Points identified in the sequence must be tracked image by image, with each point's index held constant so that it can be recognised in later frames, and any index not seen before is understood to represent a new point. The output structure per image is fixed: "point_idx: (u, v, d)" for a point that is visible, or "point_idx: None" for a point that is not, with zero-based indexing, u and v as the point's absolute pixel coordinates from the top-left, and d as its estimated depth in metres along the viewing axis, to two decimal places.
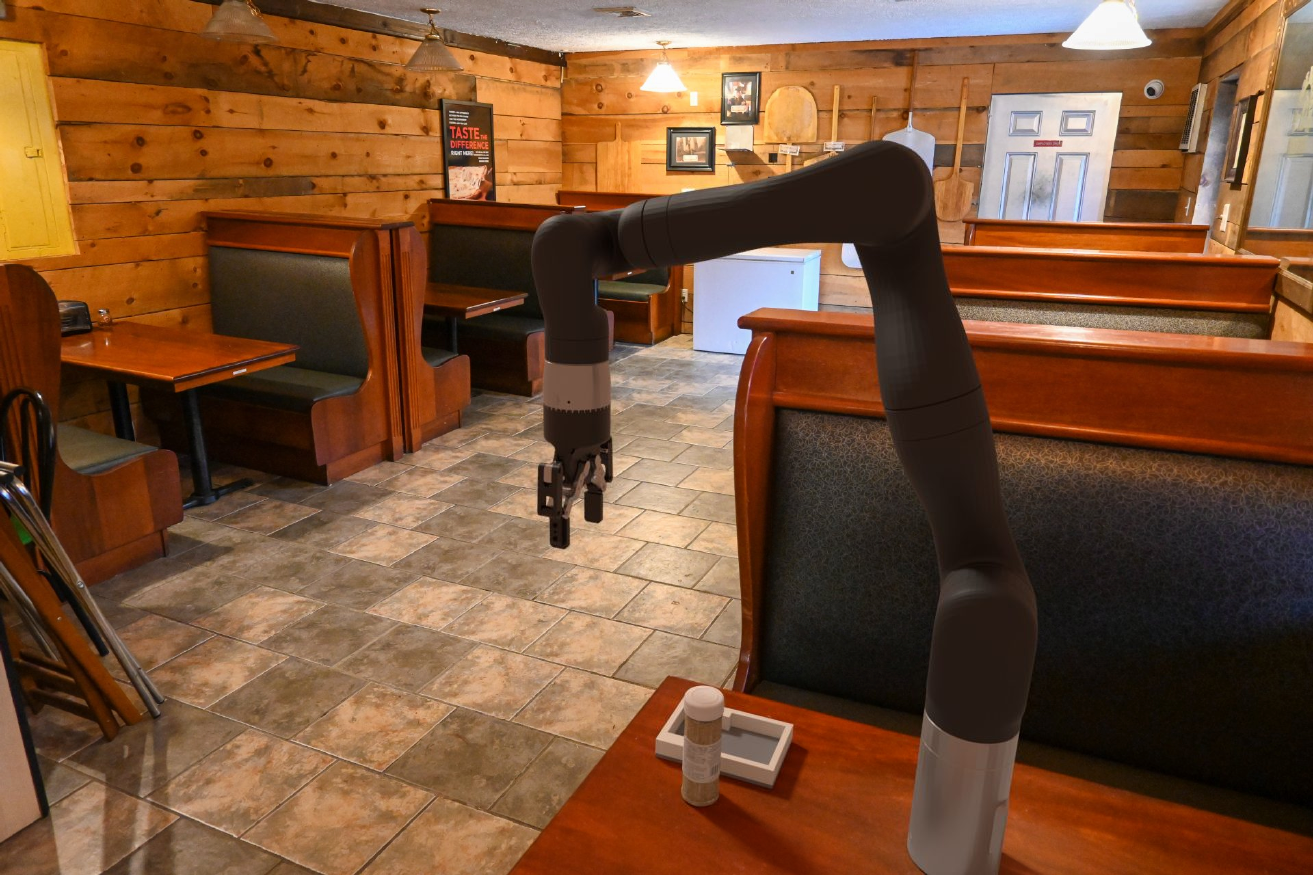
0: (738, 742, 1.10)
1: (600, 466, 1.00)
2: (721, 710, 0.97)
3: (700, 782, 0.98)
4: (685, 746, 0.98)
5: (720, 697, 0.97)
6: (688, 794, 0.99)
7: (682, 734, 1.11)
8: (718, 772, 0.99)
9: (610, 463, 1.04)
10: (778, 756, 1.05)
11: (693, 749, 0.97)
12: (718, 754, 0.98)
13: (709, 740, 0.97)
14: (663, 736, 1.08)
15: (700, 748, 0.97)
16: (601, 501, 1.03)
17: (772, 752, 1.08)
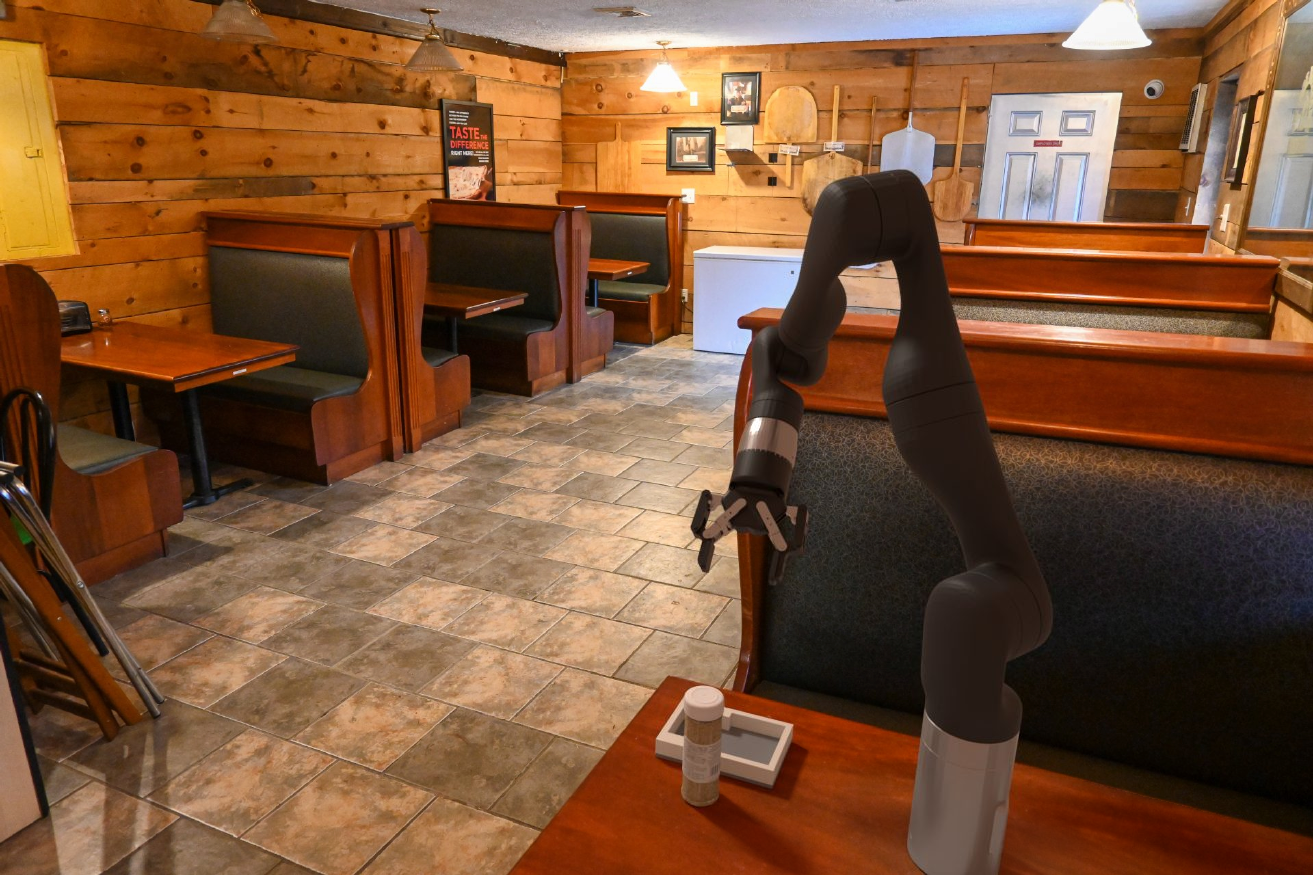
0: (738, 742, 1.10)
1: (769, 517, 1.07)
2: (721, 710, 0.97)
3: (700, 782, 0.98)
4: (685, 746, 0.98)
5: (720, 697, 0.97)
6: (688, 794, 0.99)
7: (682, 734, 1.11)
8: (718, 772, 0.99)
9: (800, 529, 1.05)
10: (778, 756, 1.05)
11: (693, 749, 0.97)
12: (718, 754, 0.98)
13: (709, 740, 0.97)
14: (663, 736, 1.08)
15: (700, 748, 0.97)
16: (774, 558, 1.05)
17: (772, 752, 1.08)
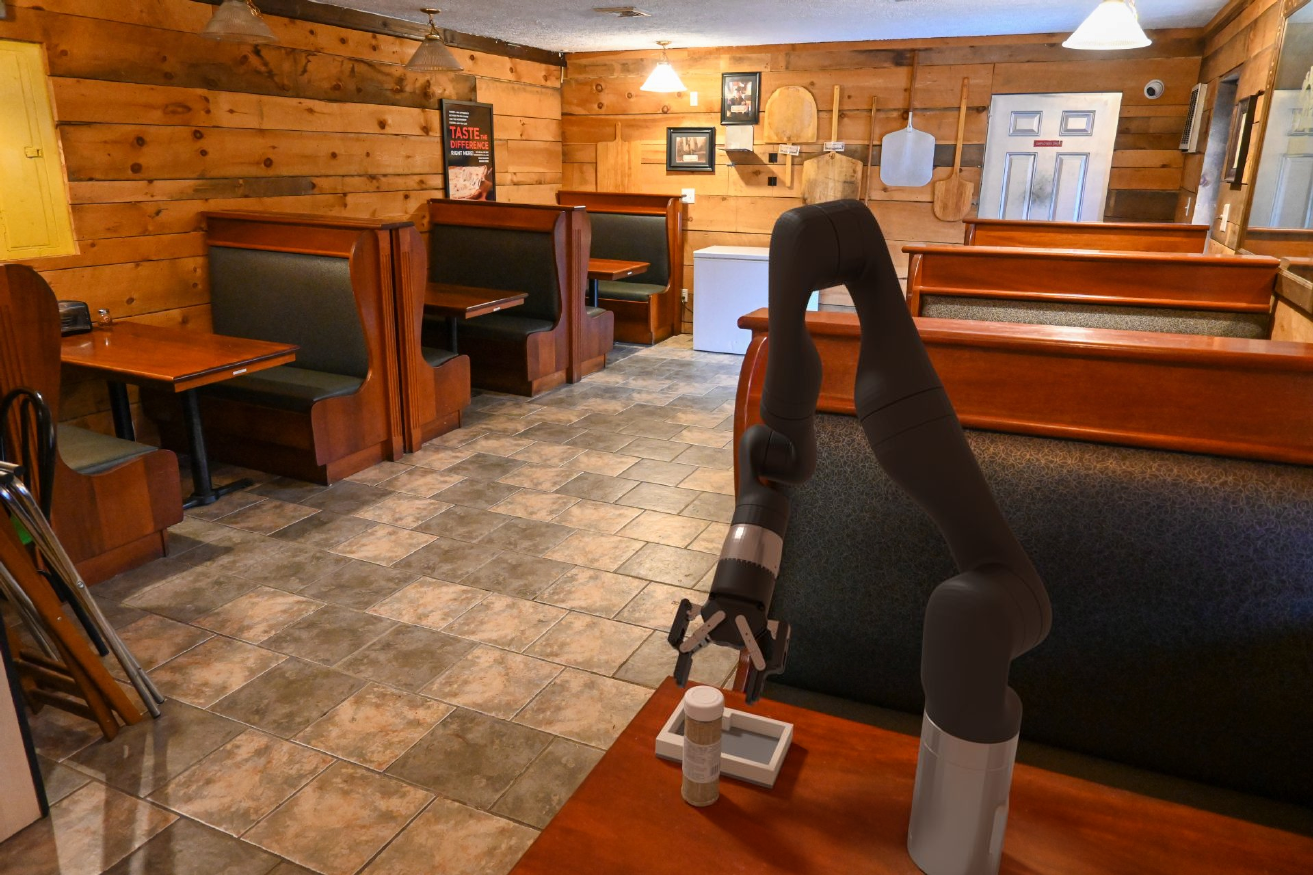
0: (738, 742, 1.10)
1: (748, 632, 1.02)
2: (721, 710, 0.97)
3: (700, 782, 0.98)
4: (685, 746, 0.98)
5: (720, 697, 0.97)
6: (688, 794, 0.99)
7: (682, 734, 1.11)
8: (718, 772, 0.99)
9: (779, 647, 1.01)
10: (778, 756, 1.05)
11: (693, 749, 0.97)
12: (718, 754, 0.98)
13: (709, 740, 0.97)
14: (663, 736, 1.08)
15: (700, 748, 0.97)
16: (752, 677, 1.00)
17: (772, 752, 1.08)
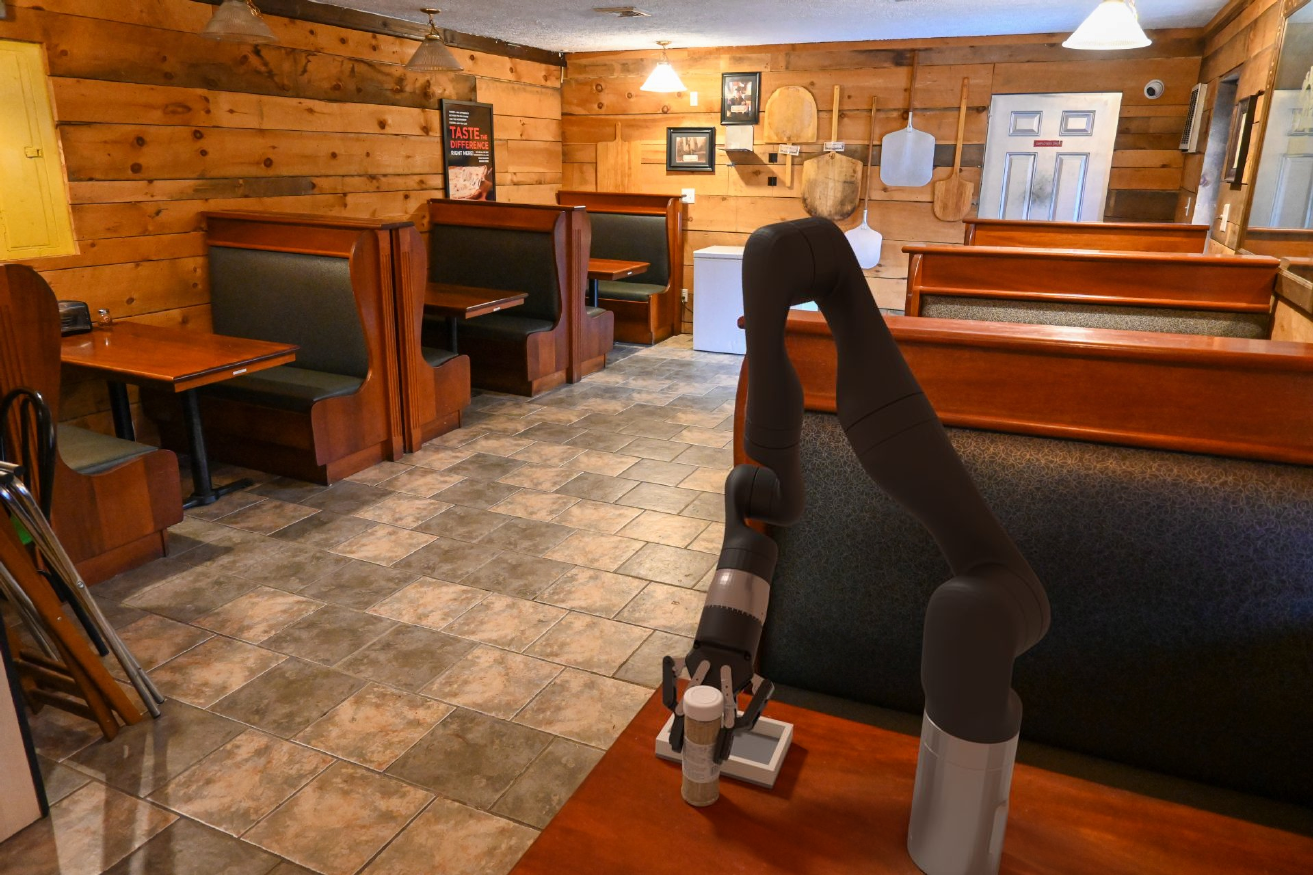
0: (738, 742, 1.10)
1: (729, 685, 0.99)
2: (720, 710, 0.97)
3: (699, 782, 0.98)
4: (685, 746, 0.98)
5: (719, 697, 0.97)
6: (688, 794, 0.99)
7: None
8: (718, 772, 0.99)
9: (754, 706, 0.98)
10: (778, 756, 1.05)
11: (692, 749, 0.97)
12: None
13: (709, 740, 0.97)
14: (663, 736, 1.08)
15: (700, 748, 0.97)
16: (720, 735, 0.97)
17: (772, 752, 1.08)
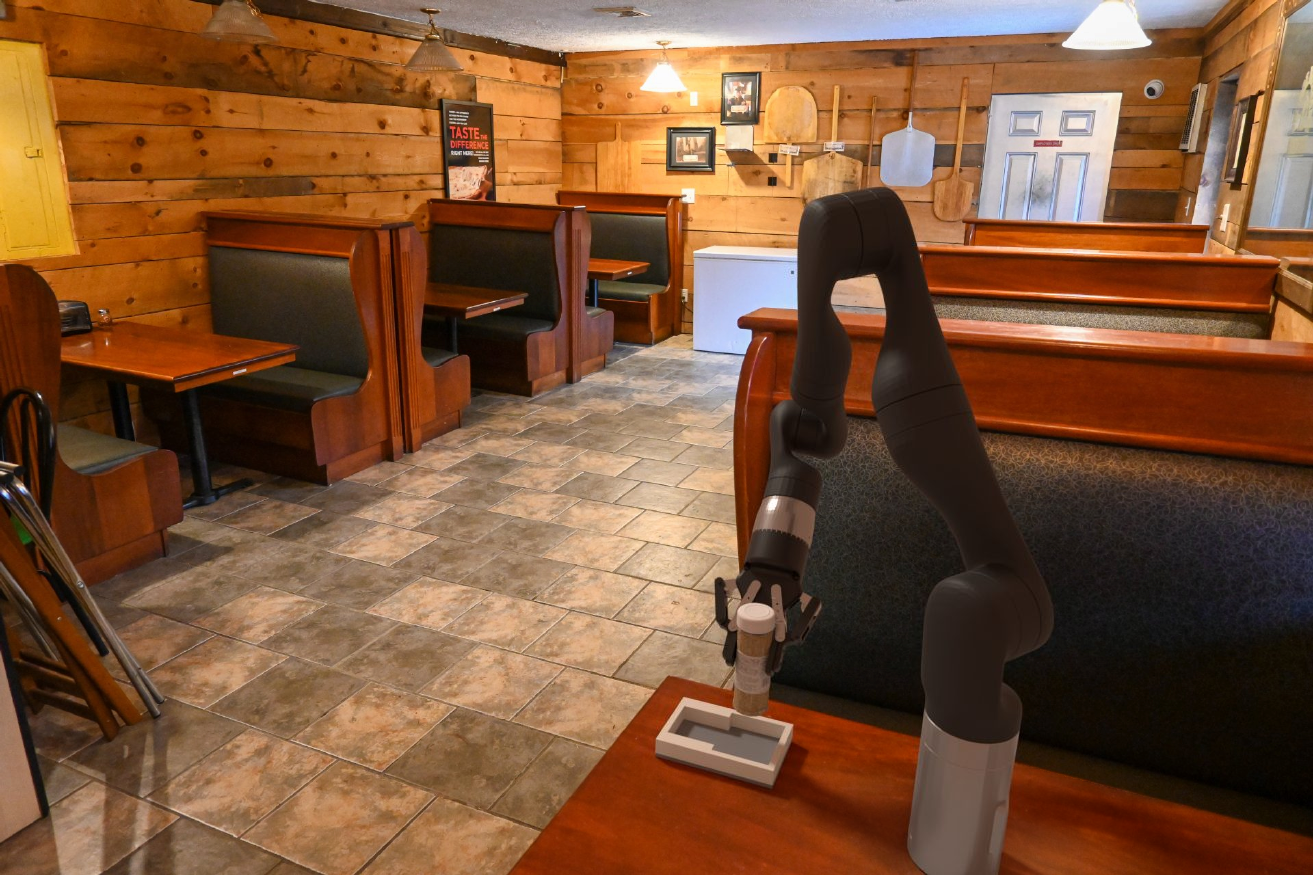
0: (738, 742, 1.10)
1: (779, 603, 1.05)
2: (773, 624, 1.02)
3: (752, 693, 1.04)
4: (738, 659, 1.04)
5: (771, 612, 1.03)
6: (740, 705, 1.05)
7: (682, 734, 1.11)
8: (768, 684, 1.05)
9: (804, 621, 1.03)
10: (778, 756, 1.05)
11: (745, 661, 1.03)
12: None
13: (761, 652, 1.02)
14: (663, 736, 1.08)
15: (753, 660, 1.03)
16: (772, 648, 1.03)
17: (772, 752, 1.08)
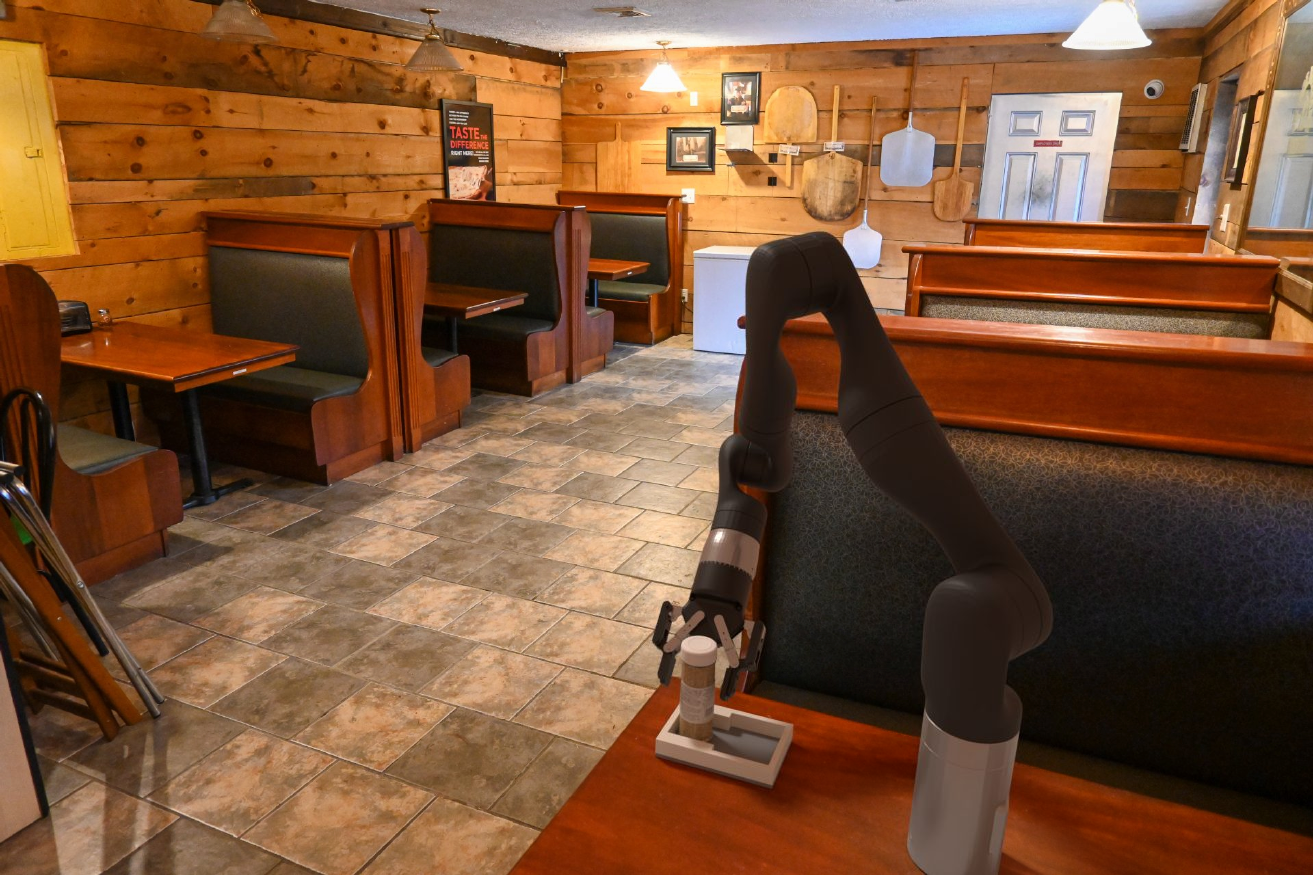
0: (738, 742, 1.10)
1: (725, 631, 1.09)
2: (714, 657, 1.06)
3: (695, 723, 1.08)
4: (682, 690, 1.08)
5: (713, 645, 1.07)
6: (685, 734, 1.09)
7: None
8: (712, 714, 1.09)
9: (753, 646, 1.07)
10: (778, 756, 1.05)
11: (689, 692, 1.07)
12: (712, 697, 1.08)
13: (704, 684, 1.07)
14: (663, 736, 1.08)
15: (695, 691, 1.07)
16: (726, 674, 1.06)
17: (772, 752, 1.08)
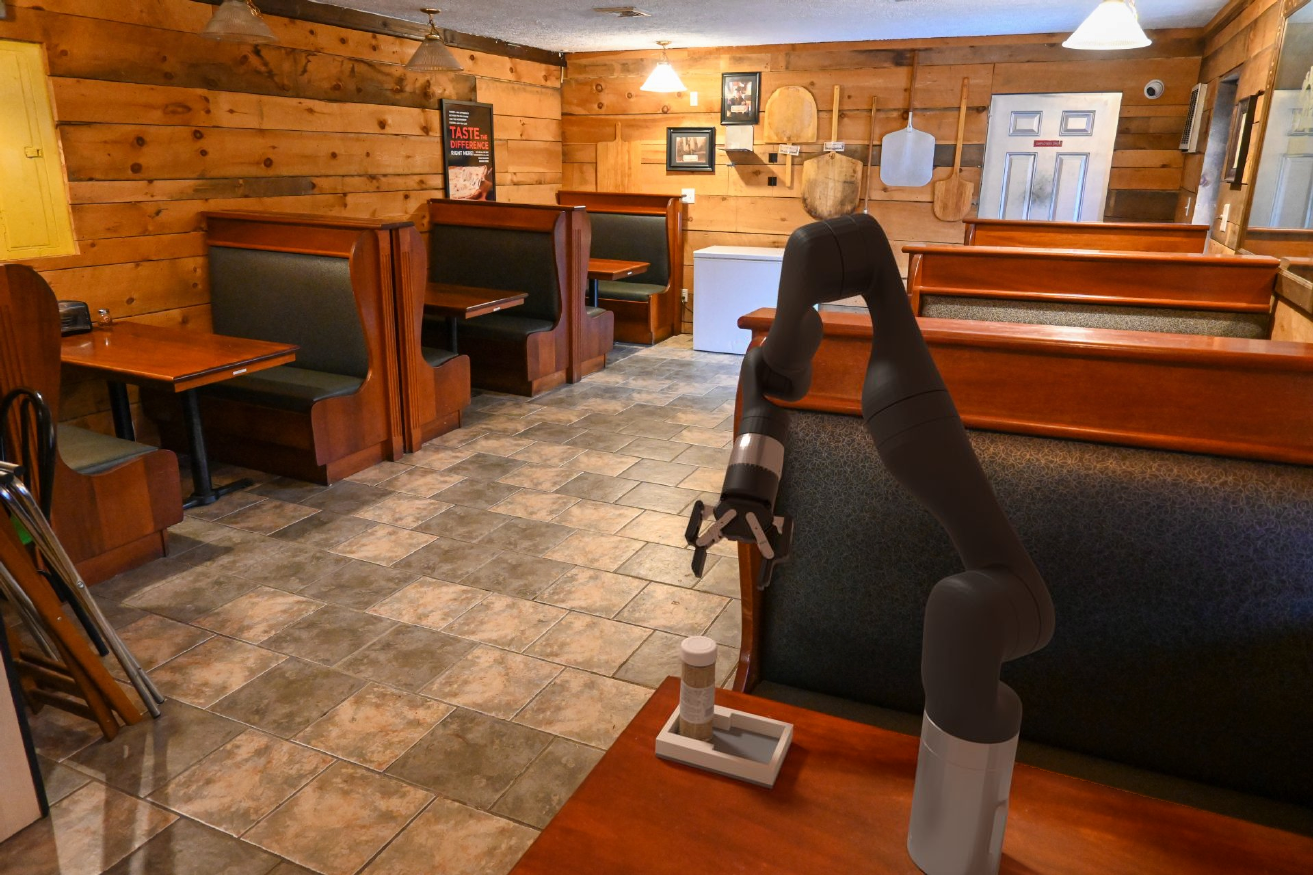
0: (738, 742, 1.10)
1: (758, 526, 1.16)
2: (714, 656, 1.06)
3: (695, 723, 1.08)
4: (682, 690, 1.08)
5: (713, 645, 1.07)
6: (685, 734, 1.09)
7: None
8: (712, 714, 1.09)
9: (786, 538, 1.15)
10: (778, 756, 1.05)
11: (689, 692, 1.07)
12: (712, 697, 1.08)
13: (704, 684, 1.07)
14: (663, 736, 1.08)
15: (695, 691, 1.07)
16: (762, 565, 1.14)
17: (772, 752, 1.08)
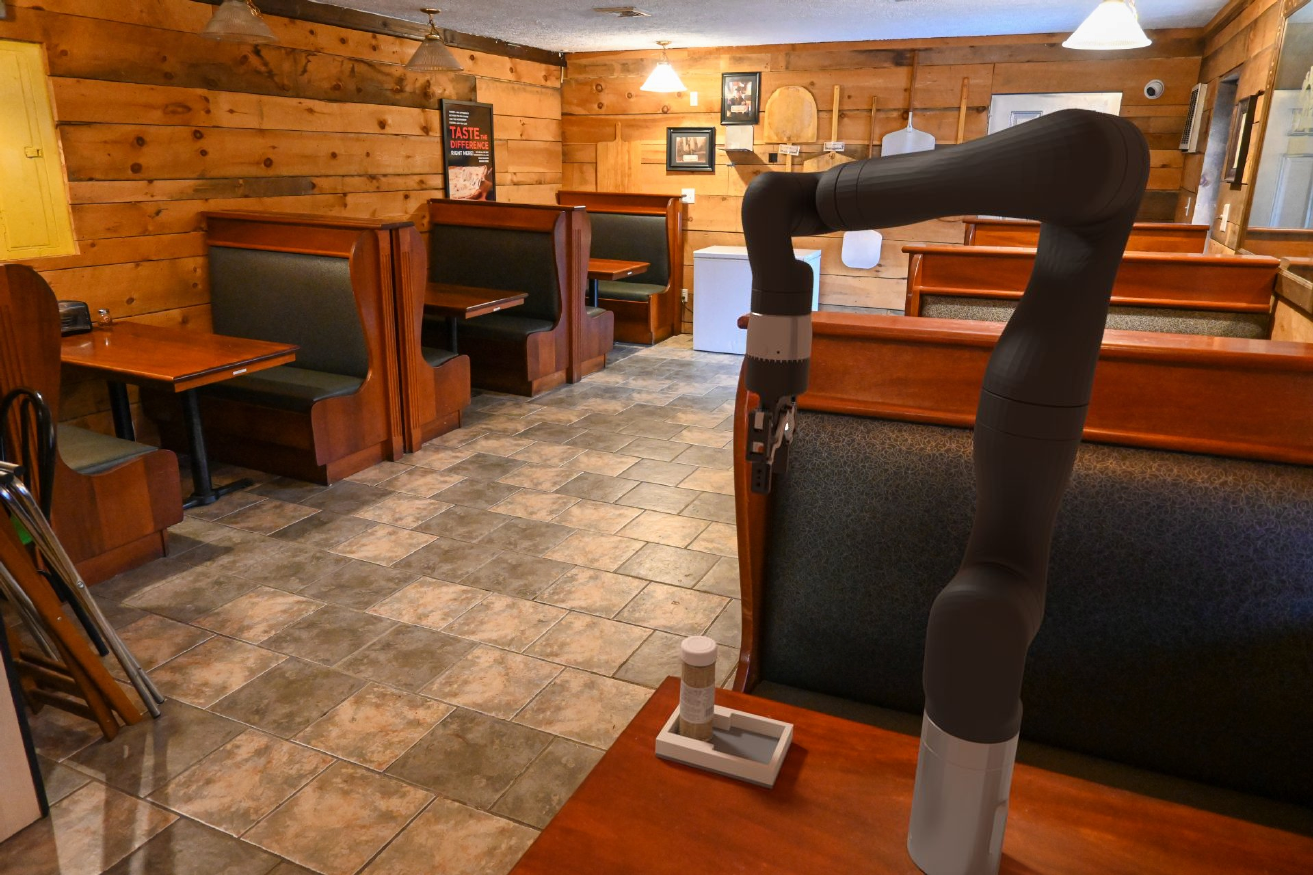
0: (738, 742, 1.10)
1: (792, 417, 1.05)
2: (714, 656, 1.07)
3: (695, 723, 1.08)
4: (682, 690, 1.08)
5: (713, 645, 1.07)
6: (685, 734, 1.09)
7: None
8: (712, 714, 1.09)
9: (795, 416, 1.08)
10: (778, 756, 1.05)
11: (689, 692, 1.07)
12: (712, 697, 1.08)
13: (704, 683, 1.07)
14: (663, 736, 1.08)
15: (695, 691, 1.07)
16: (788, 452, 1.08)
17: (772, 752, 1.08)
